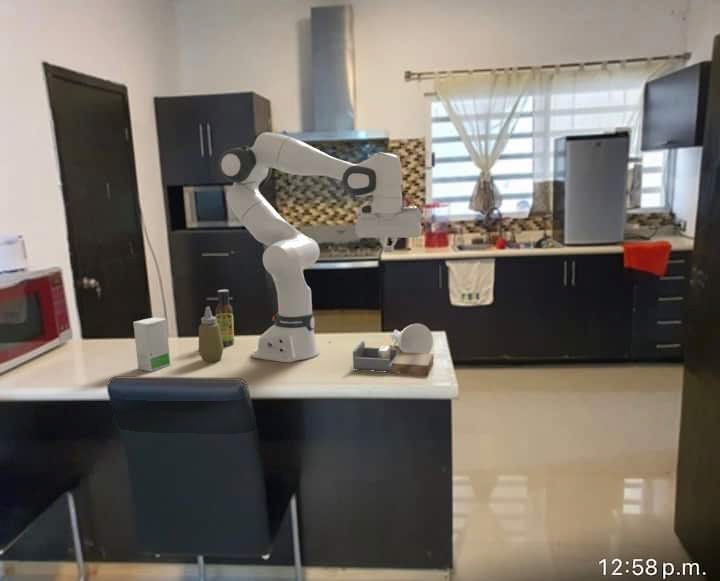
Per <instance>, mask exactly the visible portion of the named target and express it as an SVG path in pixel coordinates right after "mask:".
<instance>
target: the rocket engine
mask: <svg viewBox="0 0 720 581" xmlns="http://www.w3.org/2000/svg"><path fill="white" fill-rule="evenodd" d="M389 338H391V340H392V341H393V345H394V346H397V345H398V346H397V347H399V349H400V352H406V353H424V354H431V353H430V352H431V351H432V349H433V346H434V337H433V334H432V332H431V330H430V329H429V327H427V326H426V325H424V324H422V323H412V324H410V325H408V326H406V327H404V328H403V330H401V331H399V330H398V329H394V330H393V332H392V333H390V335H389Z"/></svg>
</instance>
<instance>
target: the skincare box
mask: <svg viewBox="0 0 720 581" xmlns="http://www.w3.org/2000/svg"><path fill="white" fill-rule="evenodd" d="M132 325H133V331H134V340H135V341H134V342H135V350H136V358H137V359H136V361H137V369H138V370H141V371H145V372H148V373H149V372H154V371H157V370H160V369H163V368H166V367H169V366H172V365H171V364H172V363H171V356H170V345H169V335H168V333H169V332H168V324H167V318H161V317H156V316H155V317H154V316H153V317H150V318H149V317H148V318H145V319H141V320H136V321H133V324H132Z"/></svg>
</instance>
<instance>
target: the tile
mask: <svg viewBox="0 0 720 581" xmlns="http://www.w3.org/2000/svg"><path fill="white" fill-rule="evenodd" d="M379 348H380V349H379V351H378V352H379V358H380V359H390V349H391V346H390V345H381V346H380V347H379Z"/></svg>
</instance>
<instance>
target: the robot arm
mask: <svg viewBox="0 0 720 581" xmlns="http://www.w3.org/2000/svg"><path fill="white" fill-rule="evenodd" d="M218 169H219V171H220V174H221V176H222V177H224V178H225V179H226V180H227V181H229V182H231V183H233V184H232V186H231V187H229V190H228V191H227V194H226V202H227V203H228V206H229V207H230V209H231V210H232V212H233V214H234V215H235V216H236V218H237V219H238V220H239V222H240V223H241V224H242V225H243V226H244V227H245V228H246V230H248V232H249V234H251V235H252V236H253V238H254V239H255V240H256V241H258V242H259V243H261V244H264V245H266V246H267V248H266V249H265V251H264V252H263V255H262V263H263V266H264V268H265V270H266V271H267V272H268V273H269V274H270V276H271V277H272V279H273V282H274V285H275V289H276V294H277V305H278V308H277V309H278V312H277V313H276V314H275V315H273V317H272V318H271V319H272V320H271V321H274V324H273V325H272V326H270V327H269V328H268V329H267V330H266V331H264V333H262V334H261V335H260V337H259V339H258V343H257V347H256V348H255V349H254V350H253V351H252V352H251V358H253V359H261V360H267V361H275V362H280V363H293V362H296V361H303V360H308V359H311V358H315V357H316V356H318V354H319V353H320V351H319V349H318V345H317V342H316V341H317V340H316V336H315V330H314V329H315V317H314V311H313V304H312V290H311V287H310V286H309V285H308V284H307V282H306V279H305V276H304V270H306V269H308V268H310V267H312V266H313V264H315V263H316V262H317V260H318V259H319V257H320V247H319V245H318V242H317V241H316V240H315V239H313V238H311V237H309V236H306V235H305V234H303V233H302V232H301V231H300V230H298V229H297V228H295V227H294V226H293V225H292V224H290V223H289V222H288V221H286V220H285V219H284V218H283V217H282V216H281V215H280V214H279V213H278V211H276V209H275V208H274V207H273V206H272V205H271V203H269V201H268V200H267V199H266V198H265V197H264V196H263V194H262V193H261V192H260V190H262V189H263V188H264V187H265V185H266V182H267V181H268V180H269V178H271V175H272V173H273V169H275V170H278V171H279V172H283V173H286V174H288V175H289V174H290V175H296V176H304V177H306V176H323V177H329V178H333V179H336V180H338V181H341V182H342V187H343V189H344V191H345V192H346V193H347V194H349V195H350V196H353V197H373V198H372V199H373V200H372V202H368V203H367V204H364V205H361V206H359V207H358V213H359V215H357V217H356V220H355V236H356V237H357V238H379V243H380V244H381V246H382V247H383V250H382V251H383V253H394V252H395V251H394V250H395V247H394V246H396V243H397V242H398V239H399V238H400V239H402V238H406V239H408V238H411V239H412V238H413V239H415V238H419V237H420V236H421V235H422V225H421V220H422V219H423V213H422V210H421V209H420V208H418V207H417V206H403V194H402V189H401V188H402V185H403V170H402V162H401V159H400V157H399V156H398V155H396V154H392V153H387V152H380V151H379V152H376V153H374V154H373V155H372V156H370V157H369V158H367V159H366V160H365V161H364V160H363V161H362V162H360V163H357V164H355V163H351V162H348V161H345V160H342V159H340V158H336V157H334V156H331V155H329V154H327V153H325V152H323V151H320V150H319V149H317V148H315V147H313V146H311V145H309V144H307V143H305V142H303V141H301V140H299V139H297V138H294V137H292V136H288V135H286V134H285V135H284V134H281V133H276V132H275V133H274V132H268V131H267V132H263V133H260V134H259V135H258V136H257V137H256V139H255V141H254V144H253V146H251V147H249V146H248V145H243V146H240V147H235V148H232V149H231V148H230V149H228V150H225V152H223V153H222V154H221V155H220V158H219V161H218ZM386 238H388V239H391V240H390V241H391V242H392V243H391V245H387V243H386V242H385V241H386Z"/></svg>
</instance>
